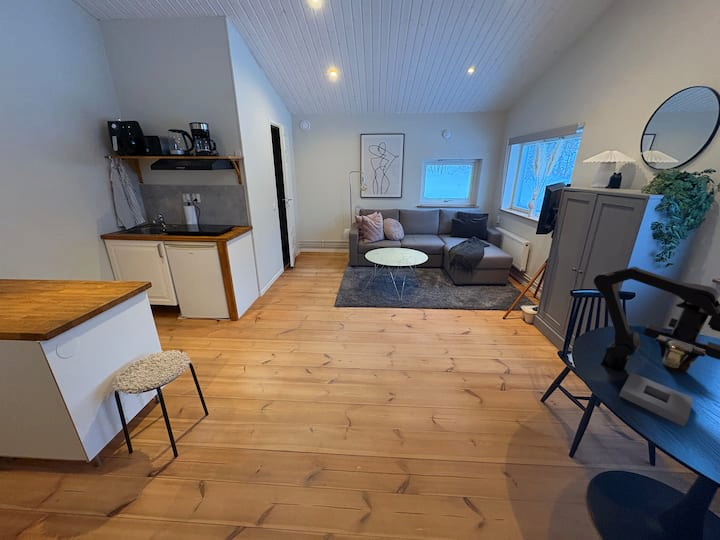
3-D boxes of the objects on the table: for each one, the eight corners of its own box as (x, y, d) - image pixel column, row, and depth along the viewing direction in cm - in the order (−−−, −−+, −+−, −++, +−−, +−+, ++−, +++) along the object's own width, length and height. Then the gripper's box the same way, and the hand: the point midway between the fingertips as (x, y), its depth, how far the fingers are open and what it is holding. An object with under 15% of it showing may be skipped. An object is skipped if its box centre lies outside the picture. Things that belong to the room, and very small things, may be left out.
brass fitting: (658, 363, 103) (666, 347, 101) (660, 357, 107) (668, 341, 104) (680, 371, 100) (688, 354, 97) (681, 364, 103) (690, 348, 100)
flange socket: (618, 395, 102) (621, 389, 101) (628, 378, 110) (631, 372, 109) (684, 426, 90) (688, 419, 89) (689, 404, 99) (693, 398, 97)
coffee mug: (673, 361, 120) (683, 340, 116) (696, 375, 112) (707, 354, 108) (646, 361, 120) (655, 341, 116) (667, 376, 112) (677, 354, 108)
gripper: (733, 325, 95) (712, 364, 101) (655, 305, 108) (640, 340, 114) (734, 338, 88) (711, 379, 94) (651, 314, 102) (635, 351, 107)
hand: (671, 360), depth 103 cm, fingers closed on brass fitting, 5 cm apart
